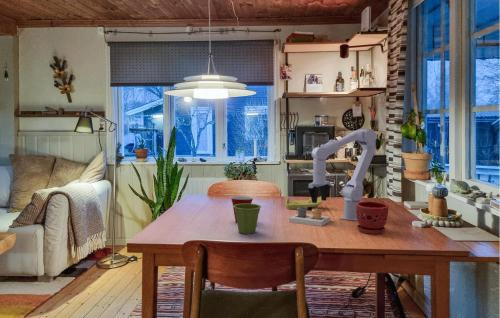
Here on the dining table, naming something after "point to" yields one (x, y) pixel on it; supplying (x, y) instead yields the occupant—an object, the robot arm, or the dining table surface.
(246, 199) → the plastic cup
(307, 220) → the housing
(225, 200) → the dining table surface
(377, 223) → the plant pot
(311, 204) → the plastic component
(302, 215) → the charcoal flared cup
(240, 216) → the plant pot
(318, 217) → the tan rubber stopper
